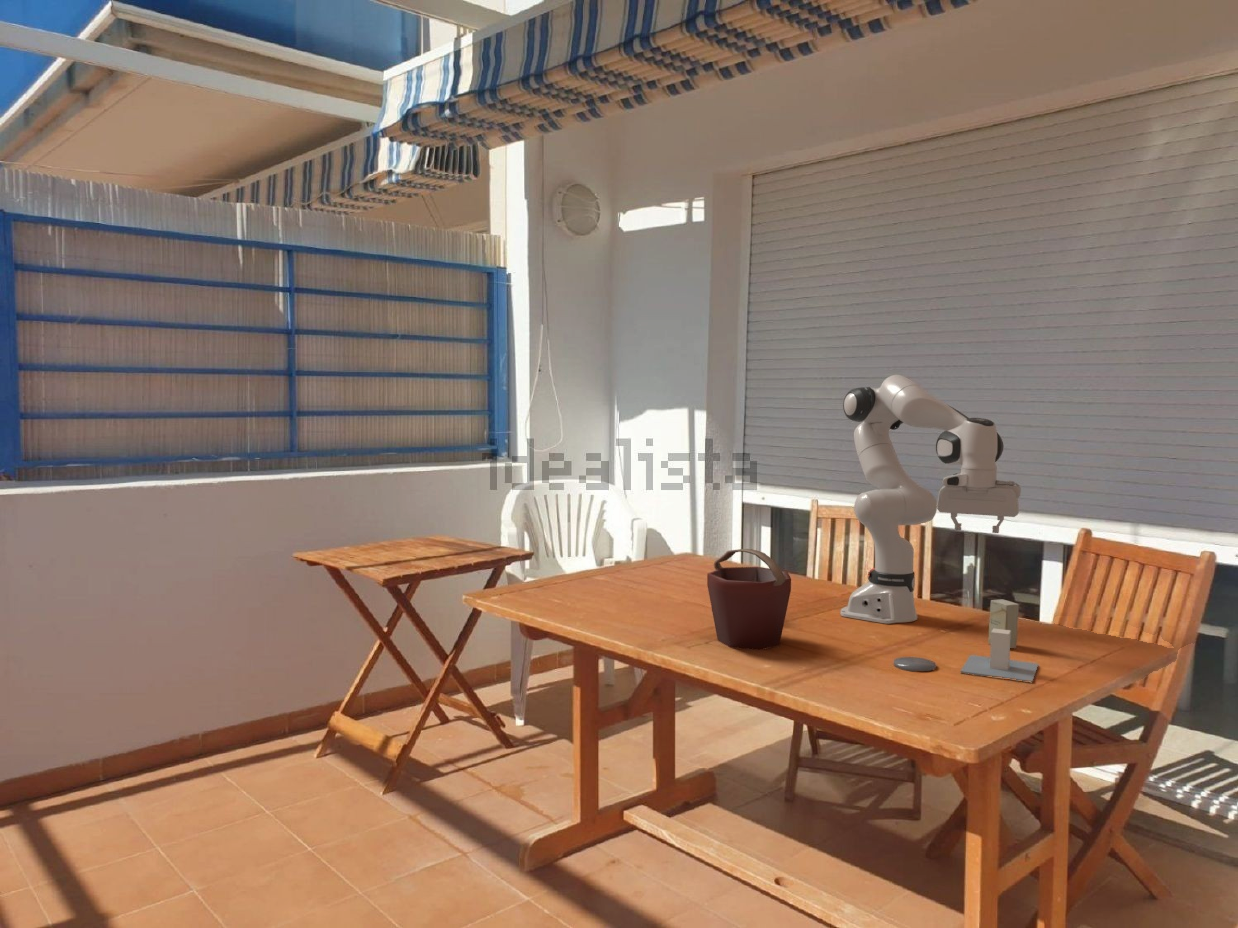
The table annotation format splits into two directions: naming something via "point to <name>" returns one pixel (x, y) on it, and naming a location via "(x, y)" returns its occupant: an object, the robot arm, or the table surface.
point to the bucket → (749, 602)
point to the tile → (1015, 670)
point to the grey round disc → (914, 664)
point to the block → (1000, 649)
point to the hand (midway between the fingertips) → (976, 531)
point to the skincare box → (1004, 618)
